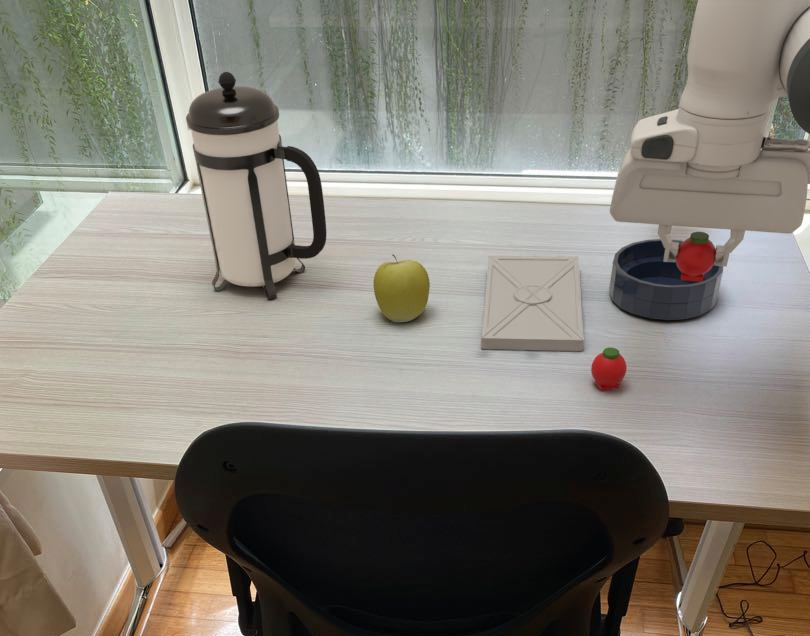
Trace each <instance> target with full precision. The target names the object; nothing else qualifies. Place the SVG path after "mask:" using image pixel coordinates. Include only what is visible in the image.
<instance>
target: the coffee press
mask: <svg viewBox="0 0 810 636" xmlns="http://www.w3.org/2000/svg"><path fill="white" fill-rule="evenodd" d="M217 82H218V84H219V86H220V87H218V88H217V87H216V88H213V89H211V90H210V89H209V90H208V91H204V92H203V93H201V94H199V95H197V96H196V97H195V98H194V99H193V101H192V102H191V103H190V105H189V108H188V113H187V114H186V116H185V121H186V125H187V126H186V127H187V130H188V131H190V132H191V137H192V142H193V143H192V150H193V156H194V160H195V163H196V164H195V165H196V171H197V175H198V181H199V187H200V191H201V195H202V196H201V197H202V200H203V201H202V202H203V206H204V212H205V214H206V215H205V216H206V221H207V226H208V231H209V237H210V241H211V247H212V251H213V256H214V262H215V268H216V269H215V271H216V272H215V274H214V277H213V279H212V281H211V285H212V287H213V289H214V290H215V291H216V292H221V291H222V290H224V289H225V287H226V286H227V285H228V284H229V283H231V284H233V285H237V286H240V287H241V286H242V287H249V288H250V287H253V288H254V287H263V290H264V293H265V296H266V299H267V300H272V299H276V298H278V293H277V290H276V286H275V283H278V282H280V281H282V280H284V279H285V278H286V277H288V276H290V274H292V272H293V271H295V272H297V273H298V274H302V273H303V272H305V271H306V266H305V264H304V263H303V262H302V260H303V259H306V260H307V259H312V258H315V257H317V256H318V255H319V254H320V253H321V252H322V251H323V249H324V248H325V246H326V242H327V221H326V210H325V201H324V192H323V187H322V186H323V185H322V180H321V175H320V173H319V170H318V168H317V165H316V163H315V162H314V160H313V159H312V158H311V156H310V155H308V153H306V152H305V151H303V150H302V149H300V148H298V147H295V146H291V145H287V146H283V142H282V141H283V140H282V136H281V134H280V131H279V122H278V121H279V118H280V109H279V107H278V105H276V104H275V103H274V101H273V99H272V97H271V96H270V95H269V94H268V93H266V92H265V91H263V90H261V89H259V88H256V87H251V86H242V85H236V82H237V79H236V78H235V75H233V74H232V73H231V72H229V71H224V72H222V73H220V75H219V77H218V81H217ZM285 160H286V161H287V162H291V163H294V164H295V165H297V166H298V167H299V169H301V171H302V172H303V174H304V176H305V180H306V183H307V189H308V199H309V205H310V206H309V207H310V216H311V223H312V224H311V225H312V232H313V236H312V242H311V243H310V245H299V244H297V245H296V243H295V236H294V228H293V221H292V220H293V219H292V214H291V205H290V198H289V197H290V196H289V190H288V189H289V188H288V183H287V175H286V174H287V173H286V166H285ZM296 260H298V262H299V263H300V264H301V265H300V267H299V268H296ZM220 275H221V277H222V278H223V281H222V282H221V284H219V286H216V284H217V282H218V280H219V278H220Z"/></svg>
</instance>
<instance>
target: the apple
mask: <svg viewBox="0 0 810 636" xmlns="http://www.w3.org/2000/svg"><path fill="white" fill-rule="evenodd" d="M392 256H393V257H394V259H395V260H396V261H385V262H383V263H382V264H380V265H379V266H378V268H376V271H375V273H374V277H373V293H374V297H375V300H376V304H377V306H378V308H379V311H380V312H381V314H382V315H384V317H386V318H387V319H388V320H390V321H392V322H393V323H406V322H407V323H408V322H410V321H413V320H414V319H416V318H417V317H418V316H420V315H421V314H422V313H423V312H424V311H425V309H426V307H427V305H428V302H429V295H430V287H431V286H430V284H431V283H430V282H431V281H430V278H429V273H428V272H427V269H426V268H425V267H424V266H423V265H422V263H420V262H419V261H417V260H414V259H407V260H400V261H397V257H396V255H394V254H392Z"/></svg>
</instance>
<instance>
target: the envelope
mask: <svg viewBox="0 0 810 636" xmlns="http://www.w3.org/2000/svg"><path fill="white" fill-rule="evenodd" d="M485 282H486V284H485V295H484V304H483V305H484V306H483V315H482V317H483V318H482V328H481V339H480V340H481V342H480V345H481V346H480V348H481V349H482V350H511V351H513V350H515V351H551V352H553V351H554V352H555V351H557V352H583V350H584V326H583V325H584V324H583V322H584V321H583V310H582V309H583V308H582V293H581V277H580V262H579V256H565V255H564V256H560V255H559V256H558V255H556V256H555V255H552V256H550V255H549V256H548V255H489V256H488V262H487V273H486V281H485Z"/></svg>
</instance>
